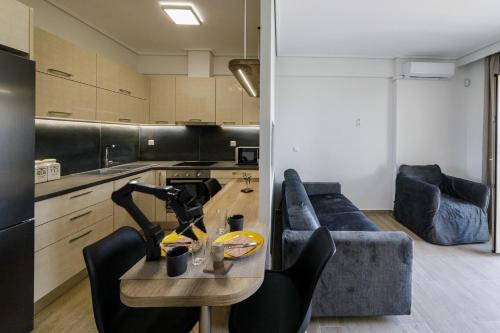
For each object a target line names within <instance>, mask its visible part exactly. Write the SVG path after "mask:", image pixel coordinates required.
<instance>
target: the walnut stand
mask: <svg viewBox="0 0 500 333" xmlns="http://www.w3.org/2000/svg"><path fill="white" fill-rule="evenodd" d="M232 265H233V260H225V259H224V258H223V259H222V261H221V262H220V261H213V260H212V259H211V260H210V261H209V262H208V263H207V264H206V266H204V268H203V269H202V272H205V273H212V274H216V275H223V276H225V275H226V274H227V272H228V271H229V269H230V268H231V266H232Z"/></svg>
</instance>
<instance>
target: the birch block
mask: <svg viewBox="0 0 500 333" xmlns="http://www.w3.org/2000/svg"><path fill="white" fill-rule="evenodd" d="M224 258H225V243H224V242H222V241H215V242H214V243H212V244H211V260H213V261H220V262H221V261H222V259H223V260H224Z"/></svg>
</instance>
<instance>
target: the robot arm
mask: <svg viewBox="0 0 500 333" xmlns="http://www.w3.org/2000/svg"><path fill="white" fill-rule="evenodd" d="M134 192H137V193H141V194H145V195H150V196H153V197H155V198H156V199H158V200H159V201H163V202H165V206H164V209H168V208H169V209H171V210H172V212H173V213H174V215H176V216H175V218H176V219H179V220H180V222H181V224H180V225H178V226H177V227H175V229H174V230H175V234H176V235H177V236H179V235H180V236H183V237H186V238H188V239H190V240H193V241H195V242H199V238H198V236H197V235H196V233H195V232H194V230H193V226H194V227H196V228H197V229H198V230H200V232H202V233H204V234H207V233H208V230H207V228H206V226H205V223H204V218H205V212H204V206H203V205H202V204H201V203H200V202H199V203H196V204H195V206H194V207H191V206H187V205H188V204H189V203H190V202H192V201H193V200H194V199H195V198H196V197H197V192H196V190H195V188H192V186H191V187H190V186H189V185H188V184H186V185H184V186H183V187H182V189H178V188H175V187H174V186H172V185H154V184H149V183H144V182H139V181H136V180H131V181H129V182H126V184H124V185H123V186H121V187H120V188H118V189H117V190H113V191H112V192H111V194H110V200H111V201H112V202H113V203H114V205H116V206H118V207H121V208H123V209H124V210H125V211H126V212H127V213H128V214H129V216H130V217H131V218H132V219H133V221H134V222H135V224H137V226H139V228H140V229H141V230H142V231H143V236H144V239H145V240H144V242H142V244H141V248H143V249H144V250H145V262H152V261H159V260H161V257H162V254H163V253H162V252H163V250H162V246H161V244H162V242H163V241H164V239H165V237H166V235H165V234H166V232H165V231H164V230H165V229H164V228H162V227H161V225H160V224H153V223H152V222H151V220H149V218H148V217H147V216H146V215H145V214H144V212H143V211H142V210H141V209H140V208H139V207H138V205H137V204H136V203H135V202H134V199H133V193H134ZM169 200H170V201H169ZM192 224H193V225H192Z"/></svg>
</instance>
